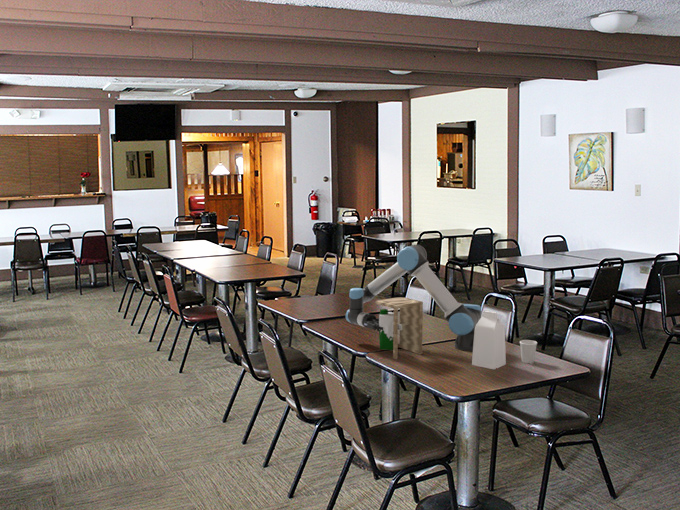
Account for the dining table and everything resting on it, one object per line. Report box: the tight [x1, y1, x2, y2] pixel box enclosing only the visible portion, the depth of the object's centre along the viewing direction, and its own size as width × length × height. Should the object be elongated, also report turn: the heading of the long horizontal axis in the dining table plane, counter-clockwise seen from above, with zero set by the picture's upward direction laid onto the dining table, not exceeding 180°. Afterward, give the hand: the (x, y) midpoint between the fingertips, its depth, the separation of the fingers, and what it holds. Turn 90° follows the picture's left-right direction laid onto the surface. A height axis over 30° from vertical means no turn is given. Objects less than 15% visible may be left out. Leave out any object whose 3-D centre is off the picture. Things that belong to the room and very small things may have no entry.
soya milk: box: [378, 308, 394, 351], centre depth 357 cm, size 9×9×20 cm
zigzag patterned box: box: [374, 296, 424, 360], centre depth 357 cm, size 16×18×27 cm
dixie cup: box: [519, 339, 538, 364], centre depth 342 cm, size 8×8×10 cm
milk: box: [471, 310, 507, 370], centre depth 336 cm, size 12×12×26 cm
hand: (395, 328), depth 354 cm, fingers closed on soya milk, 8 cm apart
